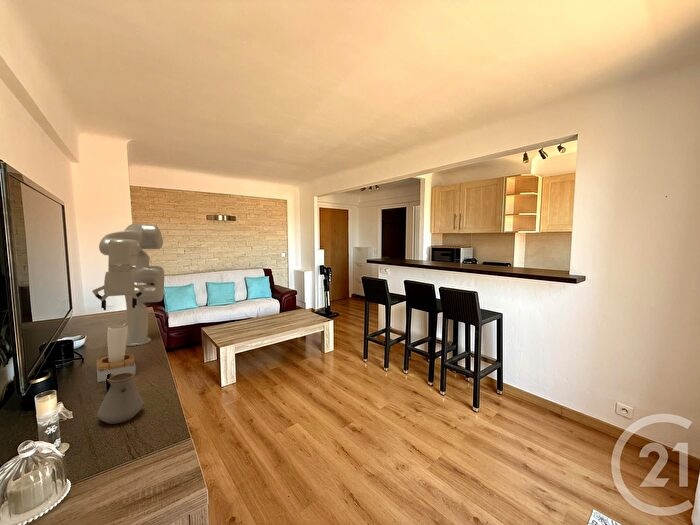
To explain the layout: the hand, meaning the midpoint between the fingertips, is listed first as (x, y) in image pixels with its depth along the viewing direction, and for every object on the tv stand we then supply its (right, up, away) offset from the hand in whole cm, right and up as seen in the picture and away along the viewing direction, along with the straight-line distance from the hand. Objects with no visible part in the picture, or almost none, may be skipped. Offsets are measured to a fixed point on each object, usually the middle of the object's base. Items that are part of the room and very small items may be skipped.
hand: (119, 308), depth 124 cm
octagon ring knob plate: (-1, -27, -1) cm, 27 cm away
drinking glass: (-1, -23, -1) cm, 23 cm away
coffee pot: (+29, -30, -36) cm, 55 cm away
